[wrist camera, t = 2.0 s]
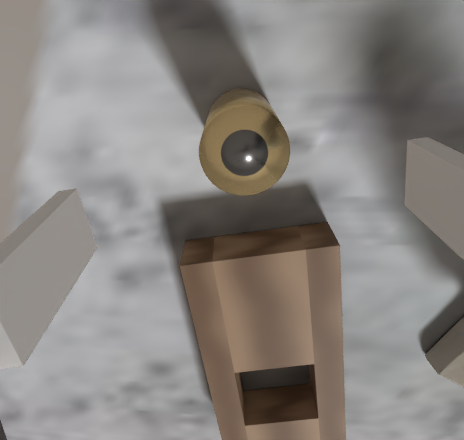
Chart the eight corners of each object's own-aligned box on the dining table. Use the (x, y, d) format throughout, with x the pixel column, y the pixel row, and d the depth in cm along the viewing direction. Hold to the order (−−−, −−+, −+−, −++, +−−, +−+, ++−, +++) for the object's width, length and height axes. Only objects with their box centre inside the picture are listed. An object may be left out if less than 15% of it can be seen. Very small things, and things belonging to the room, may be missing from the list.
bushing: (270, 83, 27) (285, 99, 20) (277, 151, 29) (293, 189, 22) (201, 94, 27) (191, 114, 20) (213, 161, 29) (207, 201, 22)
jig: (327, 221, 32) (339, 245, 28) (335, 404, 41) (345, 439, 37) (185, 240, 32) (179, 266, 29) (225, 415, 42) (224, 451, 38)
